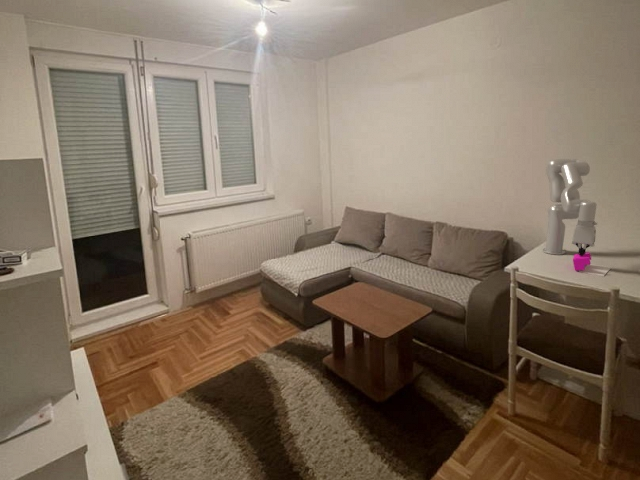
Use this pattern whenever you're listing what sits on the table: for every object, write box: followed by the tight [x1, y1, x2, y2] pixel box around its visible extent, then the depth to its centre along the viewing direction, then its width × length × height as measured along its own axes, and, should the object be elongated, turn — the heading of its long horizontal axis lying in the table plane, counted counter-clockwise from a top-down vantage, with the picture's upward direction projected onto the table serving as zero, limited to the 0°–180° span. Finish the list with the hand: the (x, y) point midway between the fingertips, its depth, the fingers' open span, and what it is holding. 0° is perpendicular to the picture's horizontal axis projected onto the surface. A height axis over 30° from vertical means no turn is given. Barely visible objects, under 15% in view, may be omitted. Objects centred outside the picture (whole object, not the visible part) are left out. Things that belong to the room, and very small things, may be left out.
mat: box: [577, 263, 612, 277], centre depth 211 cm, size 18×12×1 cm, turn 133°
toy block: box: [572, 252, 592, 271], centre depth 213 cm, size 15×6×8 cm
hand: (581, 255), depth 215 cm, fingers closed
